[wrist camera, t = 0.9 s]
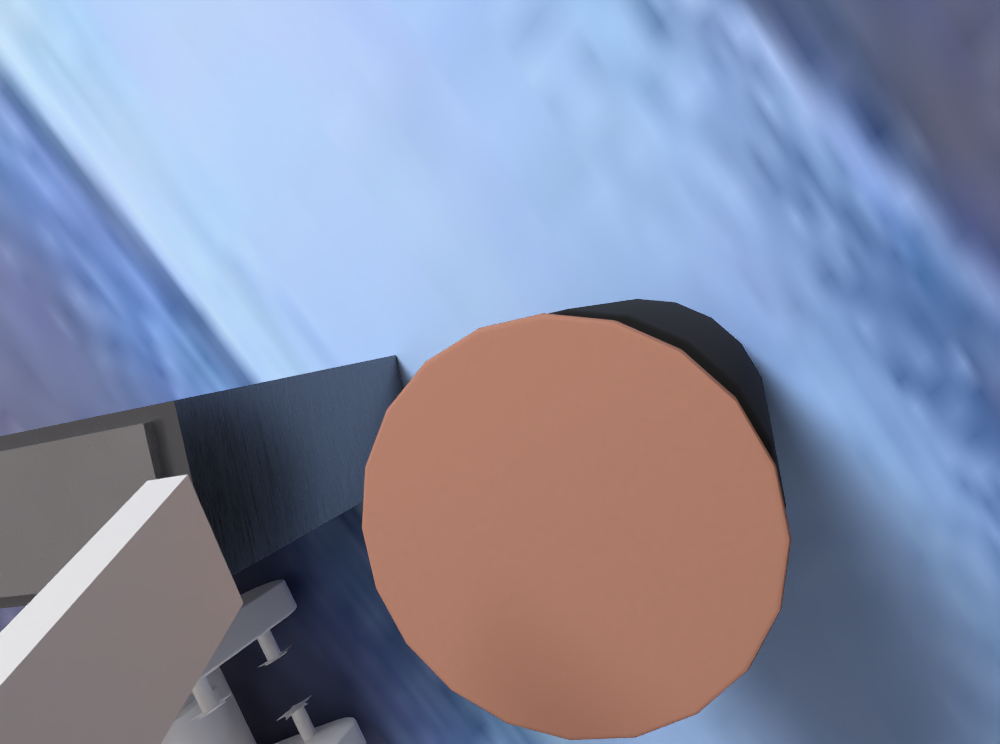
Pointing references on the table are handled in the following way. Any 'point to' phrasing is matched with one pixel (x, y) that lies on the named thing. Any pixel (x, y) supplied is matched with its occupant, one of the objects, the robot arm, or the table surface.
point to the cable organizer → (211, 705)
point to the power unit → (195, 468)
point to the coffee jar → (582, 517)
